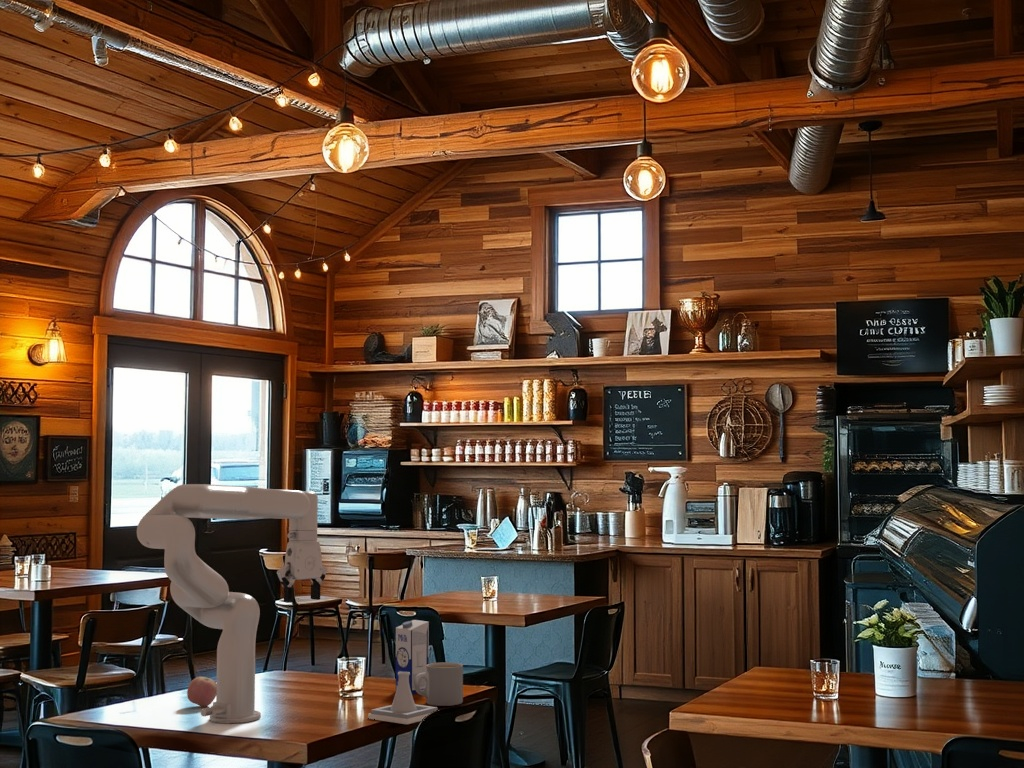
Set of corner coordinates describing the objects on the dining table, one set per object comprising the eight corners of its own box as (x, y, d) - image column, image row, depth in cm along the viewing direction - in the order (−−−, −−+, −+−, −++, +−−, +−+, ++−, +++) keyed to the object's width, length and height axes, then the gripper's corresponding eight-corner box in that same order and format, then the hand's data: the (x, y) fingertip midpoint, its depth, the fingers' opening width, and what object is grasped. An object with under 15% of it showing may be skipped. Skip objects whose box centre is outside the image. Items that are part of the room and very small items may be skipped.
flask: (420, 710, 308) (420, 670, 309) (414, 715, 301) (415, 675, 302) (392, 709, 309) (392, 670, 310) (386, 715, 302) (386, 674, 303)
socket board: (407, 724, 296) (407, 715, 296) (368, 718, 304) (368, 709, 304) (440, 716, 307) (440, 707, 307) (401, 710, 314) (401, 702, 314)
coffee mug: (460, 698, 331) (460, 661, 332) (464, 705, 322) (464, 667, 322) (412, 700, 329) (412, 663, 330) (415, 706, 320) (415, 668, 320)
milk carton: (429, 691, 342) (429, 620, 344) (410, 694, 338) (410, 622, 339) (413, 688, 348) (414, 618, 349) (395, 691, 343) (395, 620, 345)
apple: (200, 711, 315) (201, 680, 315) (180, 708, 319) (181, 677, 320) (223, 706, 322) (223, 675, 322) (203, 703, 326) (203, 673, 326)
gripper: (288, 538, 316) (287, 603, 314) (335, 536, 329) (335, 599, 328) (269, 537, 320) (268, 602, 319) (316, 535, 334) (316, 597, 332)
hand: (302, 600), depth 323 cm, fingers open, 9 cm apart
